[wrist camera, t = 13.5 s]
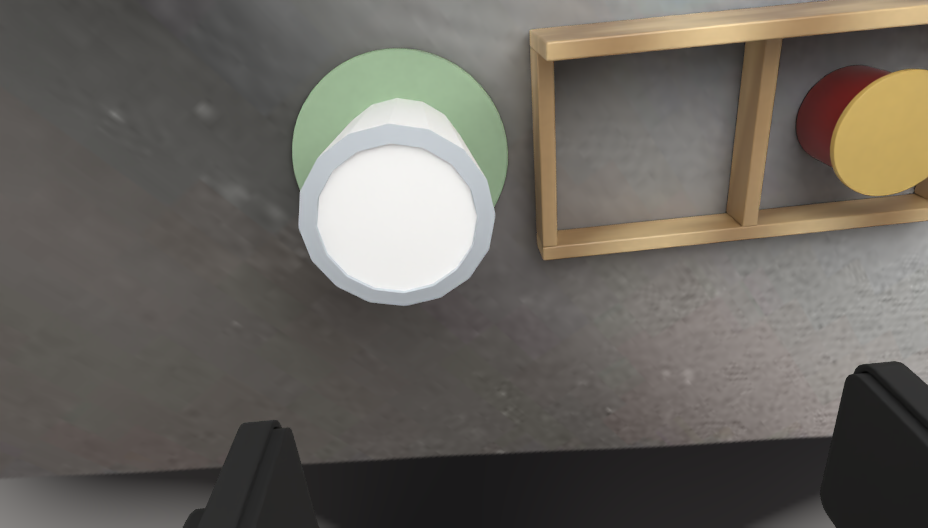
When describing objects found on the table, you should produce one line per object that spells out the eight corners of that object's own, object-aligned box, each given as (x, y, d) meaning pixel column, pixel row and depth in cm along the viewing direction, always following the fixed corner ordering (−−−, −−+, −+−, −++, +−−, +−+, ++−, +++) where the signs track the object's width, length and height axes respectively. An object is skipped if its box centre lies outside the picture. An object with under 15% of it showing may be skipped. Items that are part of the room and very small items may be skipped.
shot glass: (503, 194, 29) (525, 262, 23) (371, 254, 30) (358, 334, 24) (438, 54, 26) (443, 88, 20) (294, 125, 27) (256, 179, 21)
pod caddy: (982, -15, 27) (1068, -9, 23) (923, 205, 31) (988, 238, 27) (529, 29, 26) (546, 41, 23) (536, 245, 31) (552, 283, 27)
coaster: (500, 37, 26) (502, 38, 26) (512, 243, 31) (513, 247, 30) (272, 59, 26) (270, 61, 26) (316, 264, 30) (314, 267, 30)
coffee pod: (912, 49, 28) (979, 63, 24) (886, 163, 30) (944, 189, 27) (795, 61, 28) (846, 76, 24) (779, 174, 30) (823, 202, 27)
